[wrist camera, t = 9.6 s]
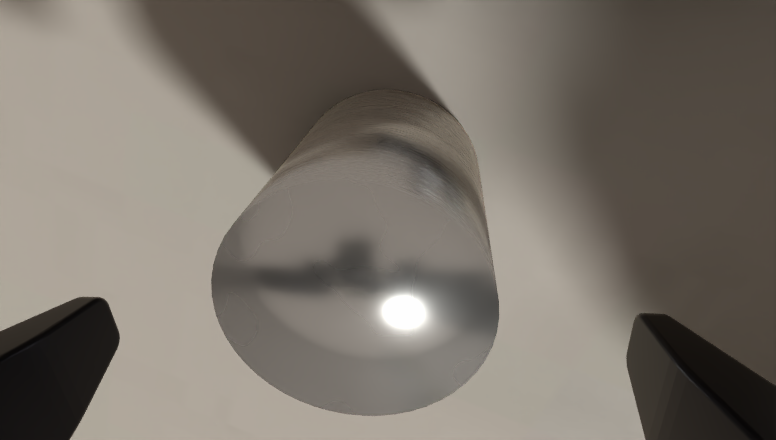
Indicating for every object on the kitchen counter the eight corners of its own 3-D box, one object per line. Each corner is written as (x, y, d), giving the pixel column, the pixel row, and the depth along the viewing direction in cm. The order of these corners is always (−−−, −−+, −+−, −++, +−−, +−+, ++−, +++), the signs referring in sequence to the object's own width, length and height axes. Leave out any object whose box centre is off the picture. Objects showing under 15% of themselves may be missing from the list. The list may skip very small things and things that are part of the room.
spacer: (476, 257, 15) (492, 421, 9) (312, 254, 15) (240, 409, 10) (482, 86, 12) (507, 179, 7) (289, 91, 13) (181, 180, 8)
